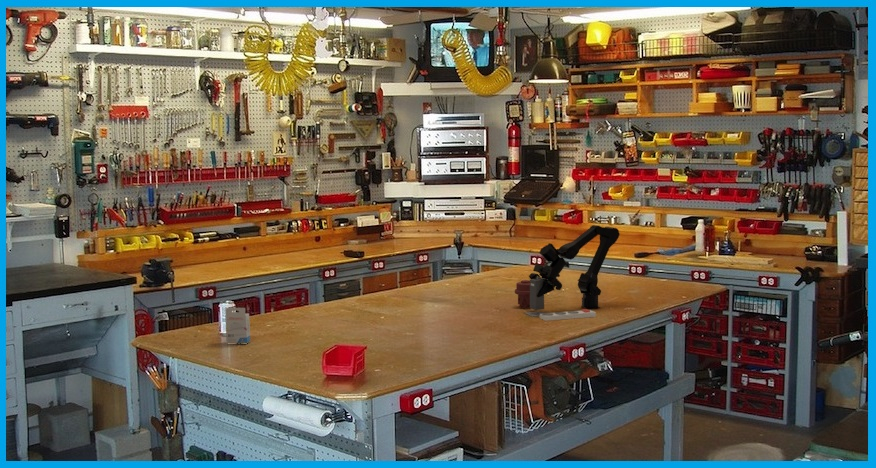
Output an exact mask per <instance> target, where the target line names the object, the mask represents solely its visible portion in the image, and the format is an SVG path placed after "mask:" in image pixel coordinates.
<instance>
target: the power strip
mask: <svg viewBox="0 0 876 468" xmlns="http://www.w3.org/2000/svg"><path fill="white" fill-rule="evenodd" d="M574 318H575V319H583V318H587V319H588V318H597V312H596V311H594V310H592V309H586V308H582V309H581V310H571V311H558V312H557V311H556V312H544V313H543V314H540V316H539V319H540V320H542V319H543V321H545V322H546V321H547V322H548V321H559V320H573V319H574Z"/></svg>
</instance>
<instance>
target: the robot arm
mask: <svg viewBox="0 0 876 468" xmlns="http://www.w3.org/2000/svg"><path fill="white" fill-rule="evenodd" d="M597 236H599V245H598V247H597V249H596V251H595V253H594V256H593V258H592V260H591V262H590V265H589V267H588V269H587V270H586V272H585V273H583V272H581V273H580V275H579V278H578V279H577V282H578V283H577V287H578V289H579V291H580V294H582V297H581V308H582V309H588V310H594V309H600V308H601V307H600V306H599V296H601V293H602V290H601V289H600V288H599V287H598V282H599V279H598V276H599V272H601V271H600V270H601V268H602V265H603V264H604V261H605V259H606V257H607V255H608V252H609V250H610V248H611V247H612V246H614V244H616V243H617V242H618V240H619V237H620V231H619V229H618V228H617V227H614V226H613V227H612V226H605V227H604V226H601V225H596V224H593V225H590V226H589V228H588V229H586V230H585V231H584V232H583V233H581V234H579V236H578V237H577V238H575V239H574V240H572V241H569V242H567V243H565V244H563V245H561V246H560V247H559V248H556V247H555V245H554V244H553V243H550V242H548V244H546V245H544V246H543V247H541V249H540V250H539V254H540V256H541V257H543V259H544V260H545V261H546V262H547V263H550V264H549V265H548V264H543V265H541V264H538V263H536V264H535V265H534V266H533V270H532V271H533V272H532V273H530V274H529V275H528V277H529V278H528V279H529V280H531V279H542V280H544V281H543V286H542V288H541V290H540V291H539V293H538V295H537V297H541V296H543V295H544V296H545V295H546V294H548V293H550V292H553V291H555V290H557V291H561V289H562V288H563V283H562V282H561V281H560V280H558V278H559V277H560V276H561V274H560V273H561V272H562V271H563V269H564V268H567V269H569V268H570V262H569V261H566V260H570V261H571V260H573V259H575V258H576V256H578V255H579V252H580V250H581V249H582V248H583V247H585V246H586V245H587V244H588V243H589V242H591V241H592V240H593V239H594V238H596V237H597ZM565 259H566V260H565ZM535 272H536V273H535Z"/></svg>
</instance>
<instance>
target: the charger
mask: <svg viewBox="0 0 876 468" xmlns="http://www.w3.org/2000/svg"><path fill="white" fill-rule="evenodd" d="M529 281H530V307H529V309H530V310H534V311H539V310H545V294H544V295H543V296H541V297H537V295H538V293H539V291H540V290H541V288H542V286H543V281H544V280H542V279H529Z"/></svg>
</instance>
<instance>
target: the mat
mask: <svg viewBox="0 0 876 468" xmlns="http://www.w3.org/2000/svg"><path fill="white" fill-rule="evenodd" d="M543 313H545V312H543V311H532V312H530V311H529V312H524V314H525V315H527V316H529V317H532V318H535V317H540V314H543Z"/></svg>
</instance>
